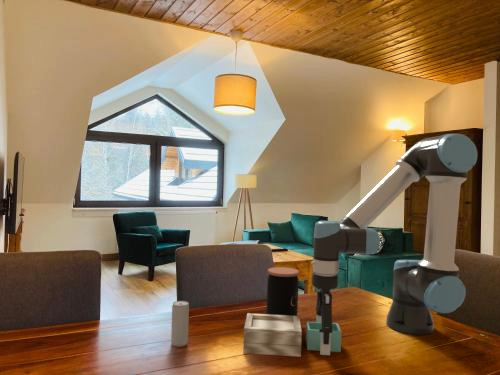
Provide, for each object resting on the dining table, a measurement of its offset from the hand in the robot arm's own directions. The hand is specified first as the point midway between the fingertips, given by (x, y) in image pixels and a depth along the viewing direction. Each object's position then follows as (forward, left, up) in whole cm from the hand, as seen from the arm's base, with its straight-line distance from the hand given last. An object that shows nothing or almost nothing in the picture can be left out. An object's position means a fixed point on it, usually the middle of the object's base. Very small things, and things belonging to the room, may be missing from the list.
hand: (322, 345), depth 121 cm
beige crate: (+15, +2, 0) cm, 15 cm away
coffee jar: (+12, -18, 0) cm, 22 cm away
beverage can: (+42, +5, 0) cm, 42 cm away
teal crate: (0, 0, 0) cm, 0 cm away
